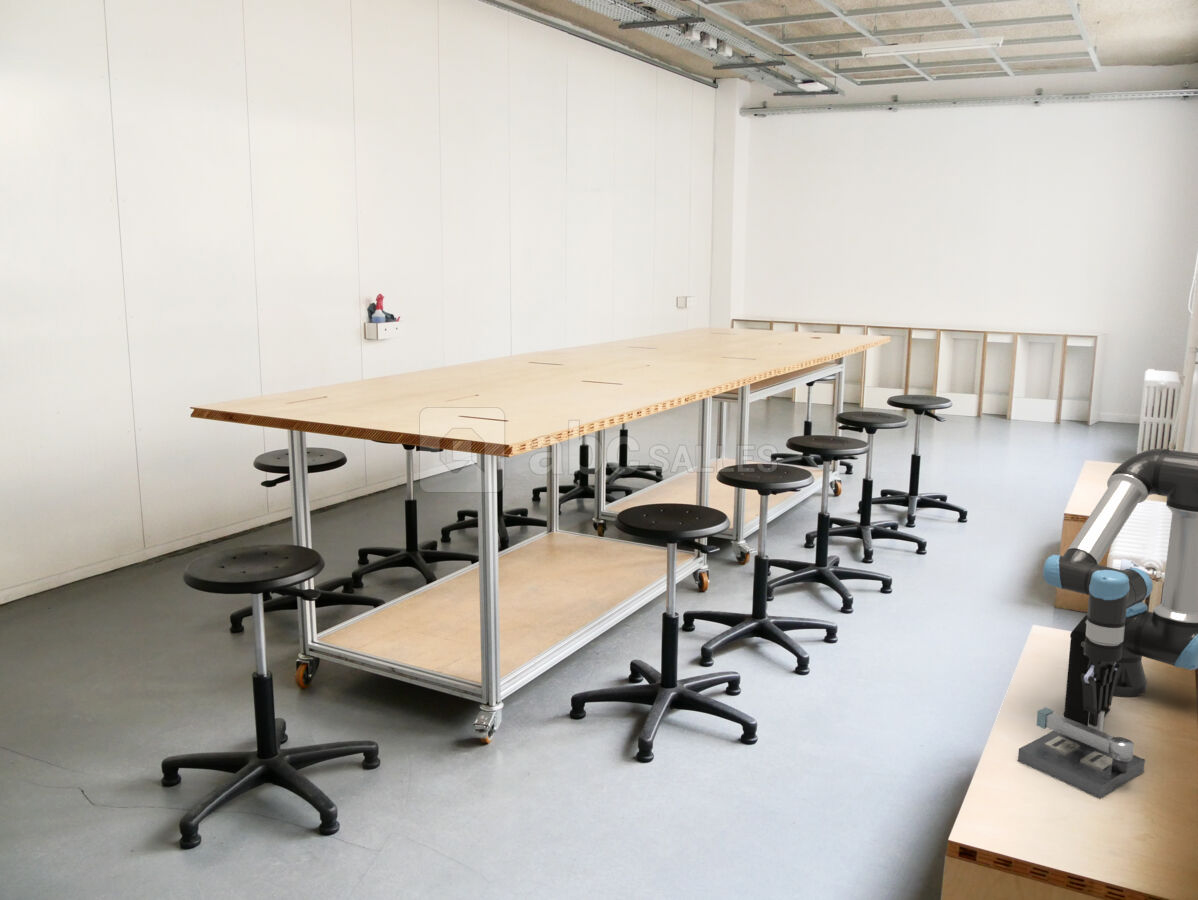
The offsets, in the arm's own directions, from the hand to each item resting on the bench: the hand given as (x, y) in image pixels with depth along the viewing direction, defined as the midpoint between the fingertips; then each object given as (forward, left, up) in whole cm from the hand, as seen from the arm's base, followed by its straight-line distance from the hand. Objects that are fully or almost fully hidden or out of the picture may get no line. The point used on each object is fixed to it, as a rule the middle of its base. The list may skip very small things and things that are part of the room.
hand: (1094, 736), depth 217 cm
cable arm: (+6, +1, +1) cm, 6 cm away
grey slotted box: (+6, 0, -5) cm, 8 cm away
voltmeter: (-17, -11, -5) cm, 21 cm away
